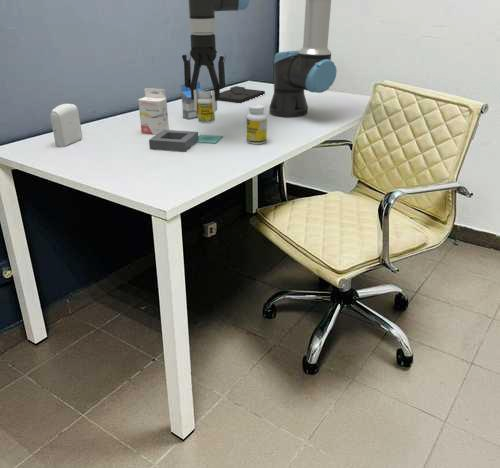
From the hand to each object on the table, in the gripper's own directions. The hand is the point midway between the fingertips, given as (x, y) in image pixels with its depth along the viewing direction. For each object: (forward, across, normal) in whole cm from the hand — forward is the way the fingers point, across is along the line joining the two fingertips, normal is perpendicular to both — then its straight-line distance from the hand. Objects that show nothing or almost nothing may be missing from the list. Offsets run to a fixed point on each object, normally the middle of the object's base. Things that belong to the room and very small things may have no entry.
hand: (206, 110), depth 164 cm
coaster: (+10, 0, 0) cm, 10 cm away
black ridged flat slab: (+10, +8, -66) cm, 67 cm away
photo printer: (+10, +43, +13) cm, 46 cm away
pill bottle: (+10, -17, -1) cm, 19 cm away
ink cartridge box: (+10, +20, -4) cm, 23 cm away
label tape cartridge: (+10, +14, -28) cm, 33 cm away
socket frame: (+10, +8, +8) cm, 15 cm away
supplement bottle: (+4, 0, 0) cm, 4 cm away
